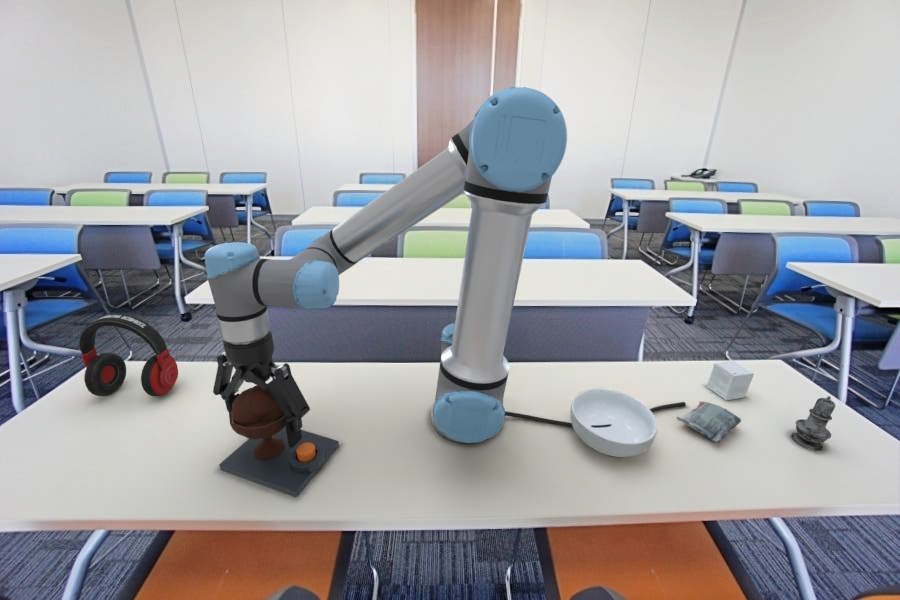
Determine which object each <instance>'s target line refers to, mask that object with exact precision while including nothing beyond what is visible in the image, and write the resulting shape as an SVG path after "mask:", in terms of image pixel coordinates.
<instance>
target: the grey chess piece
mask: <svg viewBox="0 0 900 600" xmlns="http://www.w3.org/2000/svg"><path fill="white" fill-rule="evenodd" d="M831 399H832V398H831V396H830V395H829V396H826V397H819V398H817V399H816V402H815V404H814V405H813V407H812V408H809V410H808V412H809V414H808V416H807V418H806V419H802V418H801V419H797V420H796V421H795V432H792V433H791V435H790V437H791V439H792V440H793V442H795V443H796V444H797V445H799V446H801V447H802V448H805V449H806V450H810V451H817V452H818V451H819V452H820V451H823V448H824V447H823V446H824V445H823V444H822V443H824V442H827V441H828V440H829V439H831V438H832V433H831V432H830V430H828V428H827V425H828V423H829V421H832V420H833V417H832V414H833V412H834V410H835V409H836V403H835V402H834V401H833V400H831Z"/></svg>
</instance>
